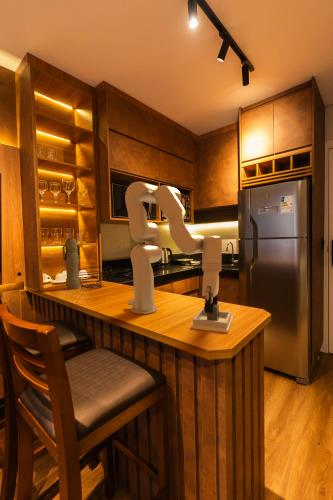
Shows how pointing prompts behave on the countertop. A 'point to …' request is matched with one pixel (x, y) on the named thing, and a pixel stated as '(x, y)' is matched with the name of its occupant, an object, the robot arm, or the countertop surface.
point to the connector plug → (215, 314)
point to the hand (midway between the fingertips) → (211, 309)
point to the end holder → (212, 322)
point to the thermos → (71, 263)
